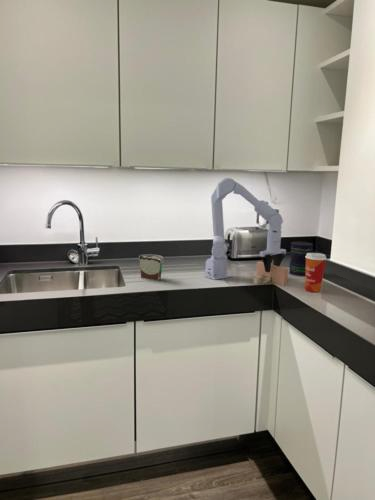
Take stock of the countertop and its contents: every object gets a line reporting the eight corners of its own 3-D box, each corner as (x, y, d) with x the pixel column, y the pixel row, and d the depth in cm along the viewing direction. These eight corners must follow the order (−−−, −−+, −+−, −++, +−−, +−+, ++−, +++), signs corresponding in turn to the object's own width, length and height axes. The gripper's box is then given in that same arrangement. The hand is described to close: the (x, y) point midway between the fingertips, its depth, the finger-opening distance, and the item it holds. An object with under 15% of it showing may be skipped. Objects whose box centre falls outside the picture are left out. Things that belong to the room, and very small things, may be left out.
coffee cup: (299, 287, 157) (302, 252, 154) (318, 287, 157) (321, 252, 155) (306, 293, 149) (310, 256, 146) (326, 293, 149) (330, 256, 146)
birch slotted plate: (256, 284, 160) (256, 277, 159) (253, 283, 161) (253, 276, 161) (287, 278, 171) (288, 271, 170) (284, 277, 172) (284, 271, 172)
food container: (169, 278, 164) (169, 256, 162) (161, 281, 159) (161, 258, 157) (146, 274, 170) (146, 253, 169) (138, 277, 165) (138, 255, 163)
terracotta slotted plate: (286, 284, 160) (287, 268, 159) (283, 285, 159) (284, 269, 158) (259, 276, 173) (260, 261, 172) (256, 276, 172) (257, 262, 171)
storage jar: (308, 277, 174) (311, 245, 171) (287, 274, 178) (289, 243, 175) (311, 272, 183) (314, 242, 180) (290, 270, 187) (293, 240, 184)
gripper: (269, 243, 155) (266, 275, 158) (292, 240, 164) (289, 271, 166) (256, 240, 161) (254, 271, 163) (279, 238, 169) (277, 267, 172)
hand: (271, 271), depth 165 cm, fingers open, 5 cm apart
